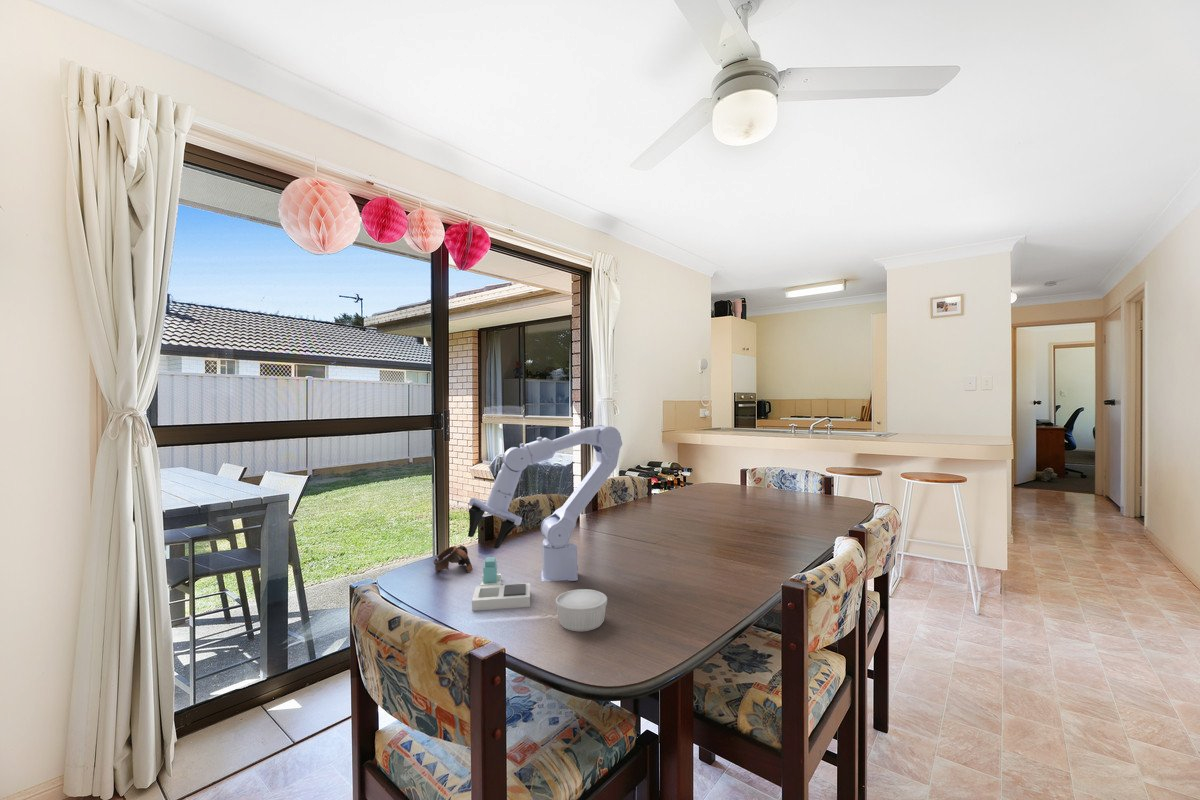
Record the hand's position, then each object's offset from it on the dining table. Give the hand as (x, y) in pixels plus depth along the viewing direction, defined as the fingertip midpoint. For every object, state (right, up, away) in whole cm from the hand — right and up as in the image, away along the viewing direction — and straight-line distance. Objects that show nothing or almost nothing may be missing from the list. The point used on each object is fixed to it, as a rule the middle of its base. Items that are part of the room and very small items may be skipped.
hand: (483, 542), depth 131 cm
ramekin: (+26, -12, -21) cm, 36 cm away
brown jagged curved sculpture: (-10, -12, +12) cm, 20 cm away
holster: (+2, -11, 0) cm, 12 cm away
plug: (+2, -11, 0) cm, 11 cm away
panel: (+7, -11, -11) cm, 17 cm away
